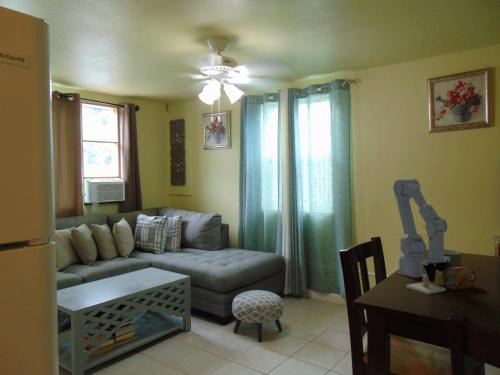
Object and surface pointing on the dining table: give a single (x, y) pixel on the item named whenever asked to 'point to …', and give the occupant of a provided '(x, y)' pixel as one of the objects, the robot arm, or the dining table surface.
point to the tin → (458, 277)
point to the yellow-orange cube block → (437, 279)
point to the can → (453, 258)
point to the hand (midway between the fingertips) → (436, 280)
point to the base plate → (425, 287)
